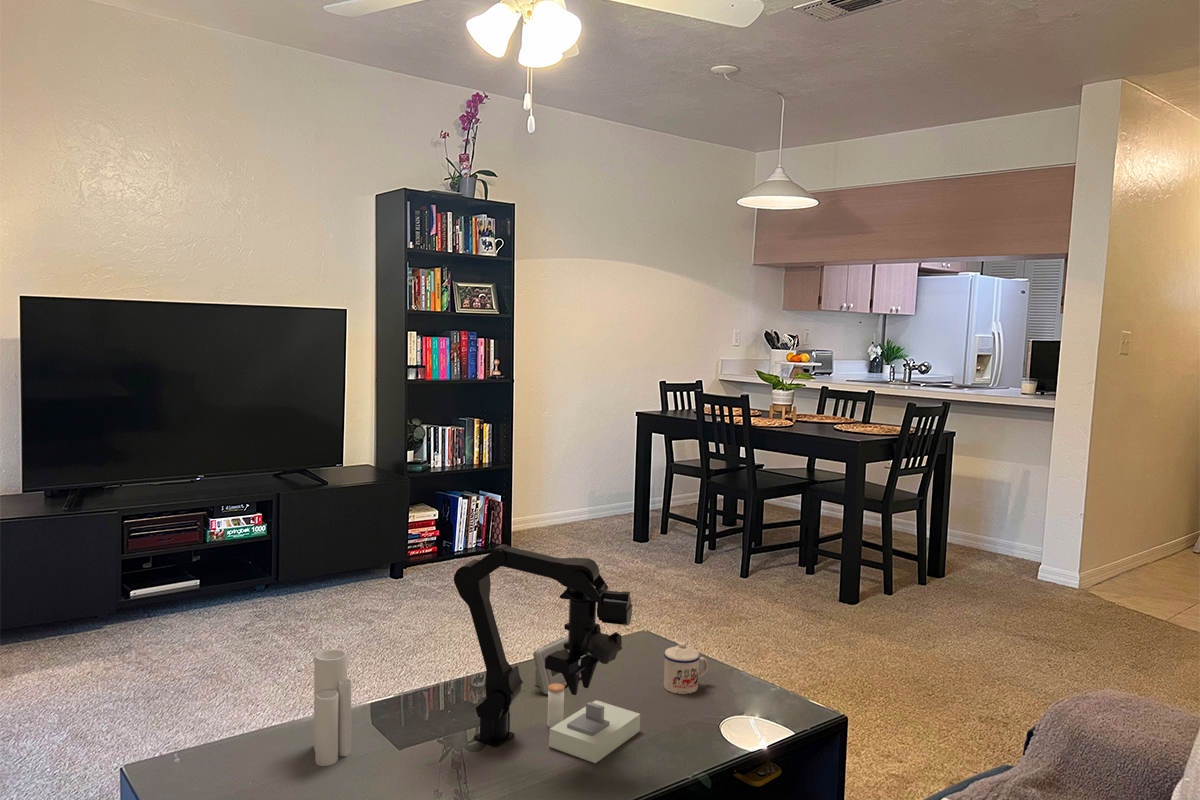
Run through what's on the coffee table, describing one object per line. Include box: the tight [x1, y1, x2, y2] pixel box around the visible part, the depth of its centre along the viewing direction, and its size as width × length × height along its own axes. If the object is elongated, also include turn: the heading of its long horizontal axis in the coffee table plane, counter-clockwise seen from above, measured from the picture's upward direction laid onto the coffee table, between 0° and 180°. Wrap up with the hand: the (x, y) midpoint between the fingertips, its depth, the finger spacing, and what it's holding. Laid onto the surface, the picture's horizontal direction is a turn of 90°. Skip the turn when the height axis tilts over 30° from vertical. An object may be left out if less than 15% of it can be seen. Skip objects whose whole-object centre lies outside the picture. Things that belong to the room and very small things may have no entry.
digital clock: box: [532, 635, 581, 695], centre depth 217 cm, size 16×9×11 cm, turn 133°
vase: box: [313, 648, 352, 767], centre depth 178 cm, size 11×7×20 cm, turn 22°
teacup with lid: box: [663, 641, 709, 695], centre depth 217 cm, size 12×9×12 cm
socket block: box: [548, 699, 641, 764], centre depth 188 cm, size 18×12×4 cm, turn 147°
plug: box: [546, 683, 565, 729], centre depth 194 cm, size 4×4×9 cm
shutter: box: [567, 701, 609, 736], centre depth 185 cm, size 7×7×4 cm
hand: (580, 691), depth 182 cm, fingers open, 4 cm apart
